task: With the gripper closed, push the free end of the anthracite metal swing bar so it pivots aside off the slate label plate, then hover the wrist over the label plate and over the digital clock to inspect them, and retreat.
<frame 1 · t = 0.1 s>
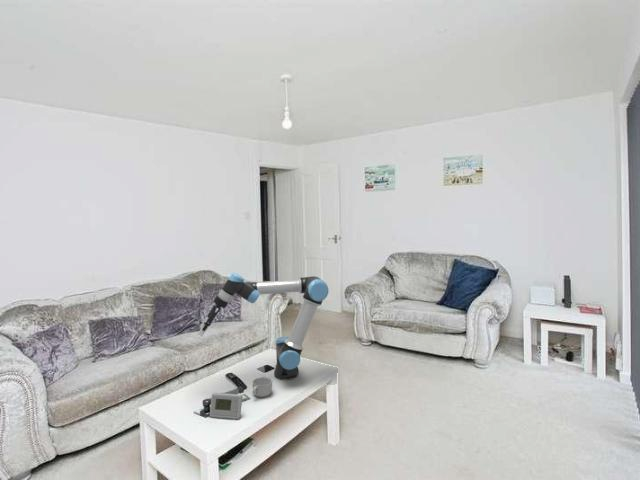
hand: (200, 331, 200), 36 cm above the table, tool tilted 35°, fingers open, 13 cm apart
digital clock: (226, 416, 180), on the table
swing arm: (223, 396, 189), point 5 cm above the table, hinge at 0.0°
label plate: (240, 399, 196), on the table
pivot post: (207, 412, 183), on the table
teacup: (260, 396, 199), on the table
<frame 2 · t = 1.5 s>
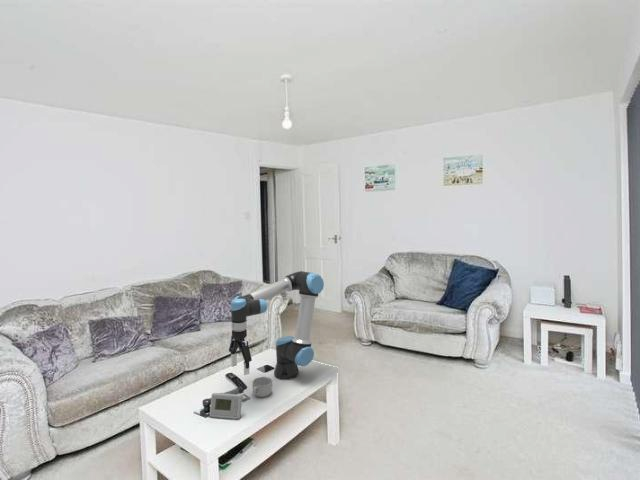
hand: (240, 370, 188), 19 cm above the table, tool pointing down, fingers open, 13 cm apart
nothing on the table moved.
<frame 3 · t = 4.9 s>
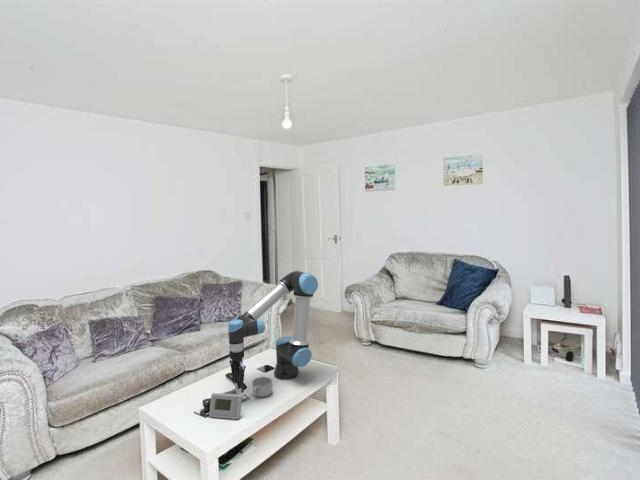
hand: (238, 393, 192), 5 cm above the table, tool pointing down, fingers closed
swing arm: (223, 396, 189), point 5 cm above the table, hinge at 0.3°, touching gripper
everything else where it was.
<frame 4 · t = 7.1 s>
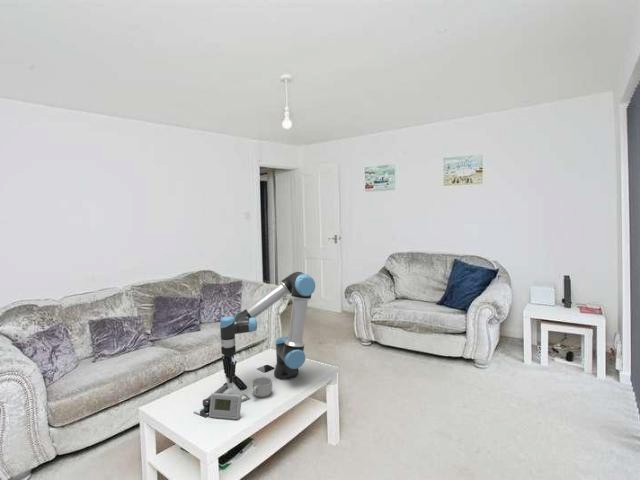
hand: (230, 387, 199), 5 cm above the table, tool pointing down, fingers closed
swing arm: (217, 394, 191), point 5 cm above the table, hinge at 30.7°, touching gripper
everything else where it was.
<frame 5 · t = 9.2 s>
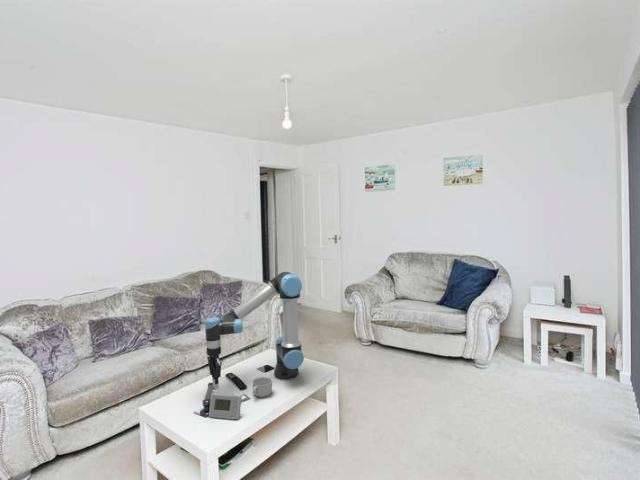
hand: (215, 388, 198), 5 cm above the table, tool pointing down, fingers closed
swing arm: (209, 393, 192), point 5 cm above the table, hinge at 58.7°, touching gripper
everything else where it was.
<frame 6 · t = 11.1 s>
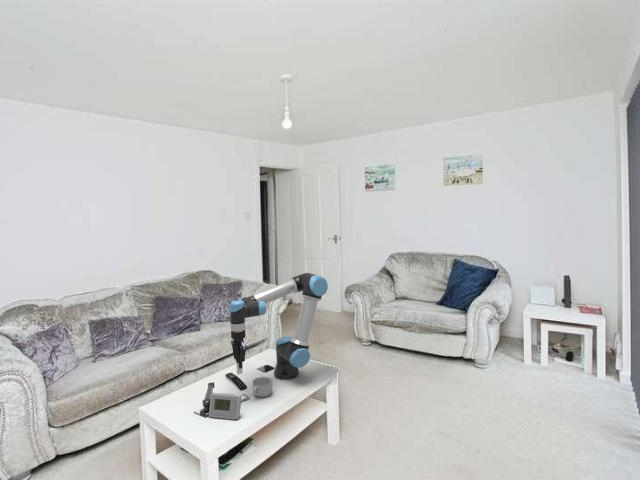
hand: (239, 373, 195), 14 cm above the table, tool pointing down, fingers closed
swing arm: (209, 393, 192), point 5 cm above the table, hinge at 58.7°
everything else where it was.
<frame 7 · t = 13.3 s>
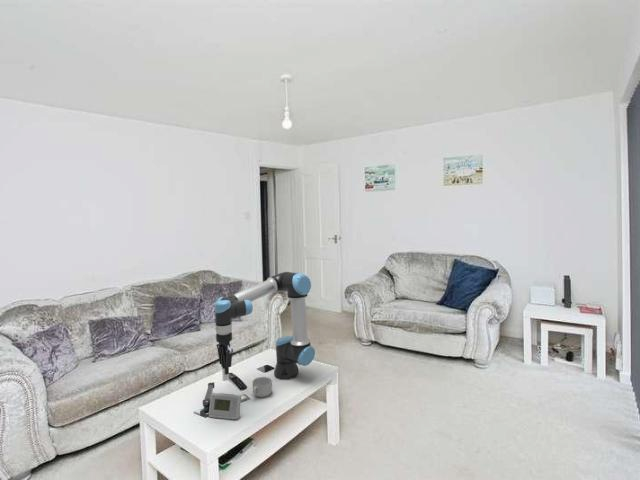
hand: (225, 379, 178), 18 cm above the table, tool pointing down, fingers closed
nothing on the table moved.
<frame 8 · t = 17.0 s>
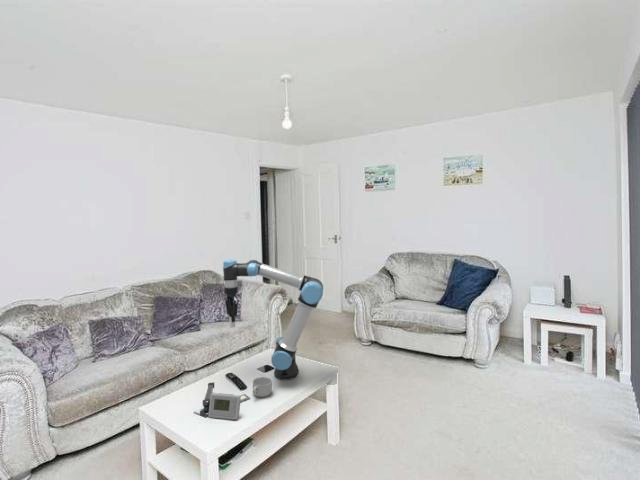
hand: (232, 327, 211), 34 cm above the table, tool pointing down, fingers closed
nothing on the table moved.
at the end: swing arm at +59° (first picture: +0°); digital clock moved 0.8 cm from its start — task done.
